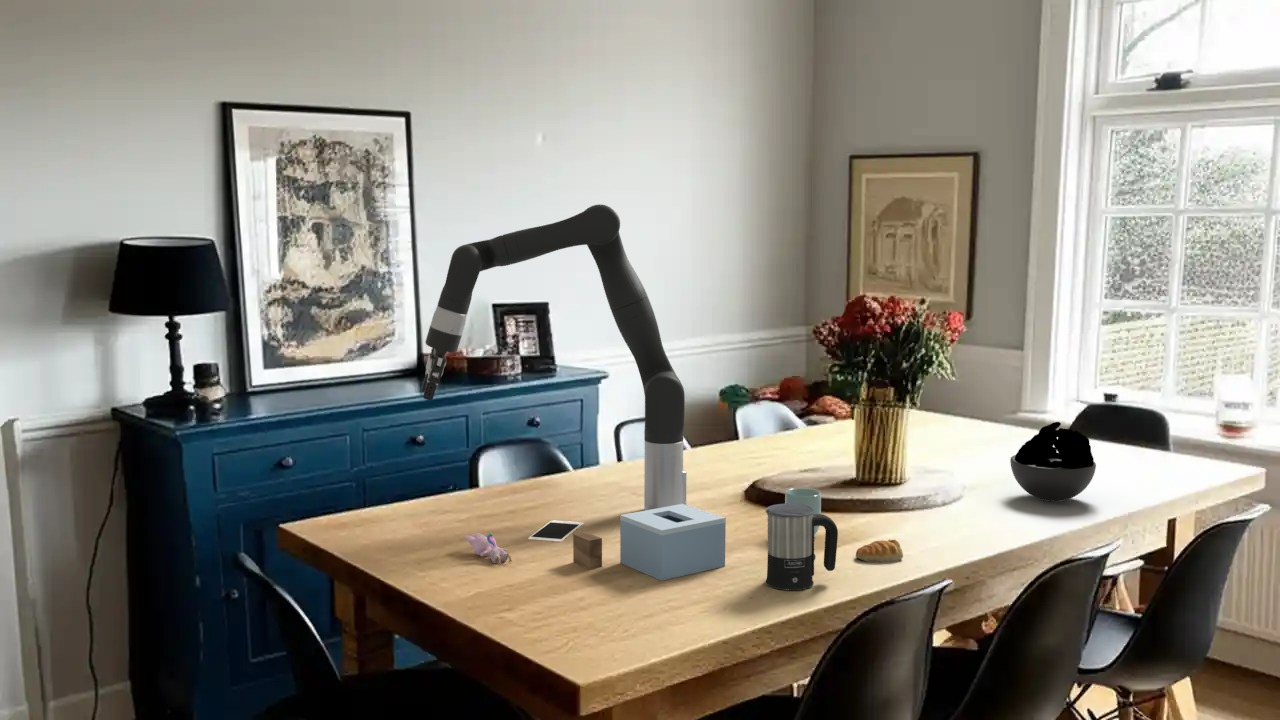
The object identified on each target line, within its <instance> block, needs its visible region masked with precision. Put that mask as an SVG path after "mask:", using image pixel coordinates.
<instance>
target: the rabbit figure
mask: <svg viewBox="0 0 1280 720" xmlns="http://www.w3.org/2000/svg"><path fill="white" fill-rule="evenodd" d="M463 538H464V539H465V540H466V541H467V542H468V543H469V544H470V545H471V546H472V550H473V552H474V553H475V554H476V555H478V556H480V557H489V558H490V560H491V562H492V564H497V565H498V566H499V567H500V566H501V564H502V565H503V563H505V562H507V560H508V563H509V564H511V563H513V560H512V555H510V553H507V550H508V549H507V548H501V547H499V546H498V545H497V542H496V540H495V538H494V534H493V533H492V532H489V533H488V534H487V536H485V535H484V534H482V533H478V532H477V533H473V534H470V535H468V534H467V535H464V536H463Z"/></svg>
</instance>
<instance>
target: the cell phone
mask: <svg viewBox="0 0 1280 720" xmlns="http://www.w3.org/2000/svg"><path fill="white" fill-rule="evenodd" d="M581 525H582V526H583V525H584V522H580V521H568V520H555V519H552V520H550V521H549V522H548V523H546V524H545V525H544V526H542V527H540V529H538V530H536V531H535V532H534V533H533V534H531V535H530V536H528V538H527V540H528V539H529V540H530V541H539V540H543V541H542V542H551V541H554V543H561V542H563V541H564V540H565V538H566V539H567V538H568V537H569V536H570V535H573V534H574V533H575V531H577V530H578V529H580V527H582V526H581ZM576 529H577V530H576Z"/></svg>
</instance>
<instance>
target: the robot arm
mask: <svg viewBox="0 0 1280 720" xmlns="http://www.w3.org/2000/svg"><path fill="white" fill-rule="evenodd" d="M620 229H621V219H620V217H619V215H618V213H617V212H616V211H615V209H613V208H612V207H610V206H608V205H606V204H594V205H591V206H589V207H587V208H586V209H584V211H581V212H579V213H578V214H575V215H573V216H571V217H568V218H565V219H562V220H559V221H556V222H552V223H549V224H545V225H540V226H539V225H538V226H535V227H529V228H524V229H521V230H520V229H519V230H516V231H512V232H508V233H504V234H502V235H499V236H495V237H493V238H489V239H484V240H479V241H477V242H476V241H475V242H469V243H466V244H463V245H460V246H458V247H457V248H456V249H455V250H454V251H453V253H452V255H451V259H450V262H449V266H448V270H447V274H446V278H445V283H444V285H443V287H442V289H441V292H440V296H439V299H438V301H437V306H436V307H435V311H434V312H433V316H432V318H431V322H430V325H429V329H428V332H427V335H426V339H425V341H424V342H425V345H426V346H427V347H430V348H431V352H430V353H429V354H428V358H427V362H426V365H425V372H424V374H425V376H424V379H423V383H422V387H421V392H423V396H422V398H423V399H424V400H426V401H433V399H434V396H435V392H436V389H437V386H438V385H439V384H440V383H441V378H442V376H443V374H444V369H445V367H446V365H447V361H448V360H447V357H446V354H447V353H450V354H455V353H457V352H458V350H459V346H460V342H461V339H462V337H463V332H464V329H465V325H466V322H467V321H466V320H467V316H468V312H469V308H470V306H471V302H472V297H473V291H474V288H475V286H476V284H477V282H478V281H477V280H478V277H479V275H480V273H481V272H483V271H486V270H490V269H494V268H496V267H506V266H510V265H515V264H518V263H521V262H525V261H528V260H532V259H535V258H538V257H541V256H543V255H546V254H550V253H552V252H553V253H554V252H556V251H559V250H563V249H566V248H573V247H577V246H587V248H588V250H589V251H590V254H591V255H592V258H593V260H594V261H595V264H596V267H597V269H598V271H599V276H600V278H601V282H602V286H603V287H602V288H603V291H604V293H605V297H606V300H607V303H608V305H609V308H610V310H611V311H610V312H611V313H612V317H613V319H614V322H615V323H616V326H617V329H618V331H619V332H620V335H621V337H622V338H623V339H622V340H624V342H625V344H626V346H627V348H628V349H629V351H630V352H631V354H632V356H633V358H634V361H635V364H636V366H637V370H638V372H639V376H640V379H641V384H642V387H643V392H644V393H643V394H644V432H643V433H644V435H643V436H644V475H643V476H644V478H643V479H644V482H643V484H644V485H643V486H644V487H643V488H644V490H643V491H644V493H643V495H644V496H643V499H644V503H643V504H644V507H643V509H644V510H643V511H646V510H651V509H657V508H662V507H668V506H673V505H679V504H685V505H687V475H688V474H687V471H686V470H684V435H685V434H684V433H685V402H686V401H685V396H686V394H685V389H684V386H683V383H682V382H681V380H680V378H679V377H678V376H677V374H676V372H675V370H674V368H673V366H672V364H671V362H670V361H669V359H668V356H667V354H666V352H665V348H664V346H663V342H662V338H661V333H660V329H659V325H658V320H657V318H656V315H655V311H654V310H653V305H652V304H651V301H650V299H649V296H648V294H647V291H646V288H645V286H644V285H643V283H642V282H641V279H640V278H639V276H638V274H637V272H636V271H635V268H634V267H633V266H632V264H631V262H630V260H629V259H628V257H627V253H626V252H625V251H626V250H625V248H624V244H623V241H622V238H621V235H620Z"/></svg>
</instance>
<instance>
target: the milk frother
mask: <svg viewBox="0 0 1280 720" xmlns="http://www.w3.org/2000/svg"><path fill="white" fill-rule="evenodd" d="M813 512H814V509H813V508H812V507H809V506H806V505H800V504H785V503H778V504H772V505H769V506H768V507H766V509H765V513H766V515H767V566H766V567H767V568H766V569H767V570H766V571H767V572H766V579H765V584H766V585H767V586H768V587H770V588H773V589H777V590H781V591H803V590H807V589H809V588H810V589H811V587H813V586H814V580H813V577H814V575H815V561H816V558H817V557H816V554H815V536H814V526H819V527H823V528H824V530H825V533H824V534H825V537H824V549H823V550H824V551H823V567H824V568H825V570H826V571H828V572H832V571H834V570H835V568H836V562H837V561H836V560H837V551H838V549H837V548H838V539H839V538H838V536H839V530H838V526H837V524H836V523H835V522H834V520H833V519H832V518H831V517H829V516H828V515H825V514H823V513H821V514H812V513H813Z"/></svg>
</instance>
